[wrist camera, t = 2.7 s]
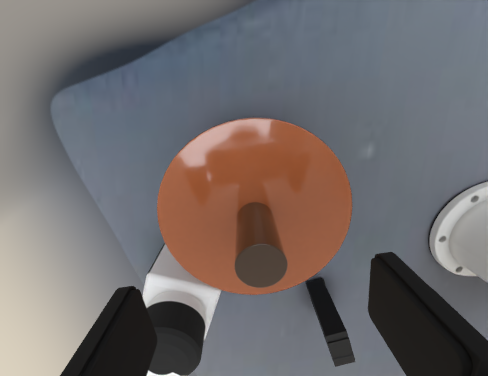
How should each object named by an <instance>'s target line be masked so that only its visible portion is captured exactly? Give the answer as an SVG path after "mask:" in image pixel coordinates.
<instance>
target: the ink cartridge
mask: <svg viewBox="0 0 488 376" xmlns="http://www.w3.org/2000/svg"><path fill="white" fill-rule="evenodd" d="M306 285H307V288H308V291H309V294H310V297H311V300H312V303H313V306H314V309H315V312H316V315H317V317H318V320H319V323H320V326H321V328H322V331H323V334H324V337H325V340H326V342H327V345H328V348H329V351H330V353H331V356H332V359H333V362H334V364H335V367H336V366H340V365H344V364H348V363H352V362H355V358H354V355H353V351H352V348H351V344H350V340H349V338H348V334H347V331H346V329H345V327H344V325H343V322H342V320H341V318H340V316H339V314H338V312H337V310H336V307H335V305H334V303H333V301H332V299H331V297H330V295H329V292H328V290H327V288H326V286H325V282H324V280H323V279H322V278H321V279H318V280H314V281H311V282H307V283H306Z"/></svg>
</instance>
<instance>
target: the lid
mask: <svg viewBox="0 0 488 376" xmlns="http://www.w3.org/2000/svg"><path fill="white" fill-rule="evenodd" d="M157 213H158V222H159V227H160V231H161V234H162V237H163V239H164V242H165V244H166V246H167V247H168V249H169V251H170V253H171V254H172V255H173V257H174V258H175V259H176V261H177V262H178V263H179V264H180V265H181V266H182V267H183V268H184V269H185V270H186V271H187V272H189V273H190V274H191V275H192V276H194V277H195V278H197V279H198V280H200V281H202V282H204V283H206V284H208V285H210V286H212V287H214V288H217V289H220V290H223V291H227V292H231V293H238V294H249V295H257V294H268V293H274V292H278V291H282V290H285V289H288V288H291V287H293V286H296V285H298V284H300V283H302V282H304V281H306V280H308V279H309V278H311V277H312V276H314V275H315V274H316V273H318V272H319V271H320V270H321V269H322V268H324V267H325V266H326V265H327V264H328V262H329V261H330V260H331V259H332V258H333V257H334V255H335V254H336V253H337V251H338V250H339V248H340V246H341V245H342V243H343V241H344V239H345V237H346V234H347V231H348V229H349V225H350V221H351V214H352V193H351V188H350V183H349V180H348V178H347V175H346V172H345V170H344V168H343V166H342V164H341V163H340V161H339V159H338V158H337V157H336V155H335V154H334V153H333V151H332V150H331V149H330V148H329V147H328V146H327V145H326V144H325V143H324V142H323V141H322V140H320V139H319V138H318V137H316V136H315V135H313V134H312V133H311V132H309V131H307V130H305V129H303V128H301V127H299V126H296V125H294V124H291V123H288V122H285V121H281V120H276V119H271V118H258V117H253V118H241V119H236V120H232V121H227V122H224V123H222V124H219V125H216V126H214V127H212V128H210V129H208V130H206V131H204V132H202V133H201V134H199V135H198V136H197V137H195V138H194V139H193V140H191V141H190V142H189V143H188V144H187V145H186V146H184V147H183V148H182V149H181V150H180V151H179V153H178V154H177V155H176V156H175V158H174V159H173V160H172V162H171V163H170V165H169V167H168V169H167V170H166V172H165V174H164V177H163V180H162V182H161V185H160V190H159V194H158V203H157Z"/></svg>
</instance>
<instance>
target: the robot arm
mask: <svg viewBox="0 0 488 376" xmlns="http://www.w3.org/2000/svg"><path fill="white" fill-rule="evenodd" d="M430 249H431V253H432V255H433V257H434V258H435V260H436V261H437V262H438V263H439V264H440V265H442V266H443V267H444V268H446V269H447V270H448V271H450V272H452V273H454V274H458V275H462V276H478V277H480V278H481V279H483V280H484V281H485V282H487V283H488V182H485V183H481V184H478V185H476V186H474V187H472V188H469V189H467V190H466V191H464V192H462V193H461V194H459V195H458V196H456V197H455V198H454V199H453V200H452V201H451V202H449V203H448V204H447V205H446V206H445V208H444V209H443V210H442V211H441V212H440V214H439V215H438V217H437V218H436V220H435V222H434V224H433V227H432V229H431V233H430ZM368 312H369V315H370V318H371V320H372V321H373V323H374V324H375V326H376V328H377V329H378V331H379V332H380V334H381V336H382V337H383V339H384V340H385V342H386V344H387V345H388V347H389V348H390V350H391V352H392V353H393V355H394V357H395V358H396V360H397V361H398V363H399V365H400V366H401V368H402V369H403V371H404V373H405V374H406V376H488V341H487V340H486V339H485V338H484V337H483V336H482V335H481V334H480V333H479V332H478V331H477V330H476V329H475V328H474V327H473V326H472V325H470V324H469V323H468V322H467V321H466V320H465V319H464V318H463V317H462V316H461V315H460V314H459V313H458V312H457V311H456V310H455V309H454V308H452V307H451V306H450V305H449V304H448V303H447V302H446V301H445V300H444V299H443V298H442V297H441V296H440V295H439V294H438V293H437V292H436V291H434V290H433V289H432V288H431V287H429V286H428V285H427V284H426V283H425V282H424V281H423V280H422V279H421V278H420V277H419V276H418V275H417V274H416V273H415V272H414V271H413V270H411V269H410V268H409V267H408V266H407V265H406V264H405V263H404V262H403V261H402V260H401V259H400V258H399V257H398V256H397V255H396V254H394V253H393V252H388V253H380V254H376V255H375V258H373V259H372V260H371V271H370V286H369V302H368ZM156 346H157V335H156V332H155V329H154V327H153V324H152V321H151V319H150V316H149V313H148V311H147V308H146V305H145V303H144V300H143V297H142V295H141V292H140V290H138V289H136V288H135V287H134V286H129V287H122V288H118V289H117V290H116V291H115V293H114V294H113V296H112V297H111V299H110V300H109V302H108V303H107V305H106V306H105V308H104V309H103V311H102V312H101V314H100V316H99V317H98V319H97V320H96V322H95V324H94V325H93V326H92V328H91V329H90V331H89V332H88V334H87V336H86V337H85V339H84V340H83V342H82V343H81V345H80V346H79V348H78V349H77V351H76V352H75V354H74V355H73V357H72V358H71V360H70V361H69V363H68V365H67V366H66V368H65V369H64V371H63V372H62V374H61V375H60V376H147V373H148V370H149V367H150V364H151V361H152V358H153V355H154V352H155V349H156Z"/></svg>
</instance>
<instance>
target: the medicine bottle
mask: <svg viewBox="0 0 488 376" xmlns="http://www.w3.org/2000/svg"><path fill="white" fill-rule="evenodd" d="M220 293H221V290H220V289H217V288H214V287H212V286H210V285H208V284H206V283H204V282H202V281H200V280H198V279H197V278H195V277H194V276H192V275H191V274H190V273H189V272H187V271H186V270H185V269H184V268H183V267H182V266H181V265H180V264H179V263H178V262H177V261H176V259H175V258H174V257H173V255H172V254H171V253H170V251H169V249H168V247H167V246H166V244H165V243H164V245H163V247H162V249H161V250H160V252H159V254H158V256H157V258H156V259H155V261H154V263H153V265H152V267H151V269H150V270H149V272H148V274H147V277H146V282H145V287H144V292H143V300H144V303H145V305H146V308H147V311H148V313H149V316H150V319H151V321H152V324H153V327H154V329H155V332H156V335H157V346H156V349H155V352H154V355H153V358H152V361H151V364H150V367H149V370H148V373H147V376H188V375H189V374H190V373H191V372H193V371H194V370H195V369H196V368H197V366H198V365H199V363H200V360H201V354H202V348H203V342H204V340H205V338H206V335H207V332H208V329H209V326H210V323H211V320H212V317H213V314H214V311H215V308H216V305H217V302H218V299H219V296H220Z"/></svg>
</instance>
